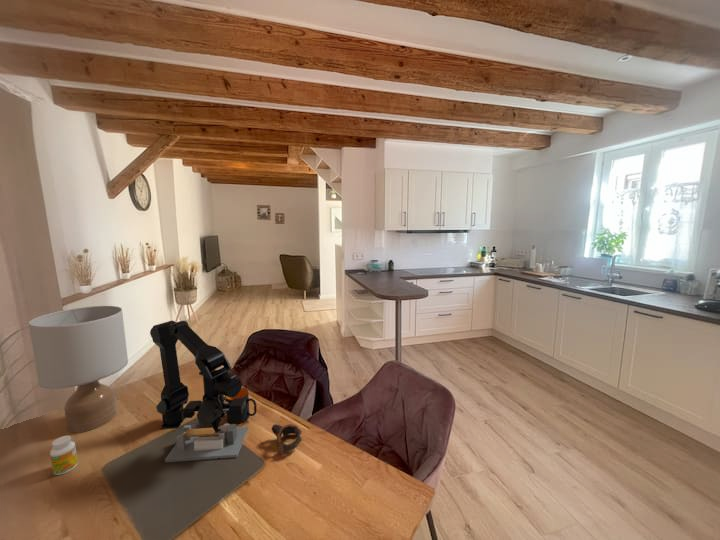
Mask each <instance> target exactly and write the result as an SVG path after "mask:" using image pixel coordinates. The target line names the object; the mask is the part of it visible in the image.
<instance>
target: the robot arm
mask: <svg viewBox="0 0 720 540" xmlns="http://www.w3.org/2000/svg"><path fill="white" fill-rule="evenodd" d="M149 335H150V338H151V339H152V342H153V343H154V344H155V345H156V346H157V347H158V348H159V354H160V358H161V359H160V361H161V369H162V373H163V380H164V386H163V389H162V390H161V392H160V401H159V402H158V403H157V404H156V406H155V408H156V411H157V413H159V414H161V416H162V418H161V419H162V424H161V425H160V429H169V428H179V427H180V426H181V425H182V423H183V422H185V420H186V419H192V418H193V417H194V416H195V414H196V419H197V421H198V424H206V423H207V424H210V426H211V428H213V429H214V430H215V431H218V429H219V427H220V426H221V422H222V419H223V418H225V416H226V413H227V411H228V410H229V414H230V415H231V416H232V415H240V414H242V412H243V410H244V408H245V405H246V400H245V399H244V398H237V399H233V401H232V403H228V402H226V401H225V396H228V397H231V398H232V397H235V396H236V395H237V394H238V393H239V392H240V390H241V388H243V386H242V385H243V382H242V381H241V380H240V378H237V375H236V374H234V373H233V374H231V373H229V372H230V371H232V369H233V368H232V366H231V363H230V362H229V360H228V359H227V357H226V355H225V353H224V352H223V351H222V350H220V348H218V347H216V346H213V345H210V344H207V342H205V341H204V340H203V338H201V337H200V336H199V335H198V334H197V333H196V331H194V330H193V329H192V328H191V327H190V325H189V322H188V321H186V320H180V321H177V322H176V321H175V320H169V321H165V322H162V323H158V324H154V325H153V326H152V327H151V329H150V331H149ZM178 341H180V343H181V344H183V346H184V347H185V348H186V349H187V350H188V351H189V352H190V353H191V354H192V356H193V357H194V360H195V361H194V362H195V363H194V364H195V365H196V366H197V368H198V370H199V372H198V374H199V376H202V382H203V393H204V394H203V395H202V400H190V401H189V396H190V393H189V387H188V385H185V384H184V383H183V382H182V381H181V375H180V368H179V367H180V366H179V359H178V353H177V343H178ZM222 366H223V367H222ZM218 368H219V369H218ZM188 401H189V402H188ZM184 405H185V406H184ZM196 412H197V413H196Z"/></svg>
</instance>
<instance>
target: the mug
mask: <svg viewBox="0 0 720 540" xmlns="http://www.w3.org/2000/svg"><path fill="white" fill-rule="evenodd" d="M224 397H225V401H224V402H228V403H232V401H233V399H237V398H244V399H245V400H246V405H245V408H244V410H243V412H242V414H240V415H232V416H231V415H230V414H229V410H228V411H227V413H226V414H225V416H226V424H228V423H229V425H230V424H236V426H238V425H241V424H243V423H245V422H247V421H248V419H249V418H250V417H253V416H256V414H257V410H258V409H257V402H256V401H255V399H253V398H249V390H248V389H247V388H245V387H241V390H240V392H239V393H238V394H237V395H236V396H235V397H232V398H231V397H228V396H225V395H224ZM249 402H252V403H253V413H250V403H249Z"/></svg>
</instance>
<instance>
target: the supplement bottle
mask: <svg viewBox="0 0 720 540" xmlns="http://www.w3.org/2000/svg"><path fill="white" fill-rule="evenodd" d="M51 447H52V449H51V450H50V451H49V456H50V462H51V468H52V469H51V470H52V474H53V475H55V476H60V475H64V474H66V473H69V472H71V471H72V470H74V469H75V468H76V467H77V466H78V460H79V459H78V454H77V448H76V447H77V446H76V443H75V441H72V438H71V436H70V435H63V436H59V437H58V438H55V440H53V441H52V443H51Z"/></svg>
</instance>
